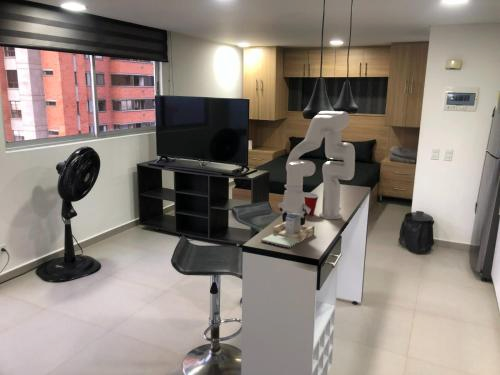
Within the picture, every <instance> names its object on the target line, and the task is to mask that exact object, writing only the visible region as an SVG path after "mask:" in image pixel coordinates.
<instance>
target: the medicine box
mask: <svg viewBox="0 0 500 375" xmlns="http://www.w3.org/2000/svg"><path fill="white" fill-rule="evenodd" d="M300 218H301V215H300V214H299V213H292V212H290V214H287V216H286V221H285V222H286V233H289V234H295V233H297V232H298V231H300V230H301V225H300Z"/></svg>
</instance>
